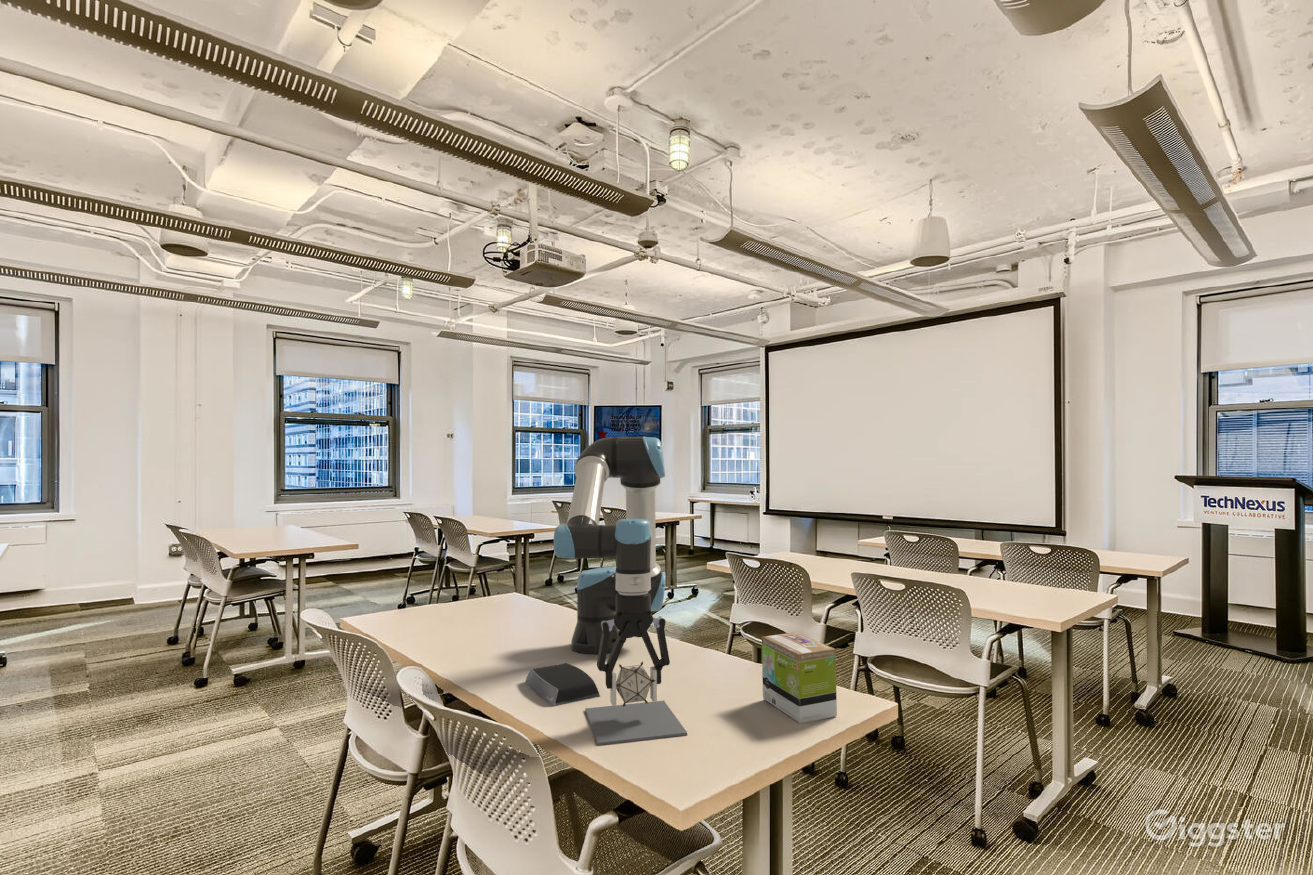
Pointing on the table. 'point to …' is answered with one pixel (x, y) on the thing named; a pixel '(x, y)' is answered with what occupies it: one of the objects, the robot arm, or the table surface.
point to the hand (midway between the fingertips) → (633, 701)
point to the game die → (633, 684)
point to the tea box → (799, 676)
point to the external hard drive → (561, 684)
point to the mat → (633, 722)
